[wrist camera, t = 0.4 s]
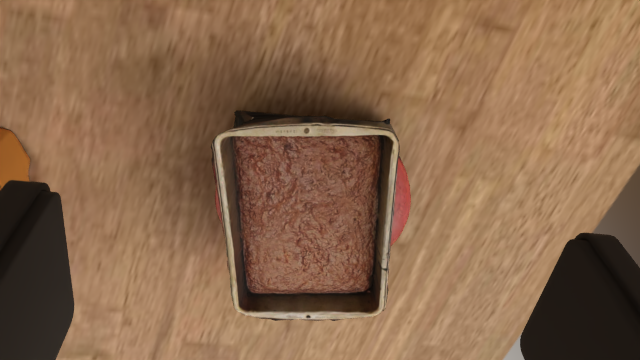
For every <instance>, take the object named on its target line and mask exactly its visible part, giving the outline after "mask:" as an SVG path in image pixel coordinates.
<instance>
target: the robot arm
mask: <svg viewBox="0 0 640 360" xmlns="http://www.w3.org/2000/svg"><path fill="white" fill-rule="evenodd" d="M73 313H74V298H73V290H72V283H71V275H70V267H69V259H68V251H67V243H66V235H65V228H64V220H63V212H62V204H61V198H60V195H59V193H57V192H50V188H49V186H48V184H46V183H40V182H29V181H19V180H10V181H8V182H7V183H6V184H5V185H4V186H3V188H2V189H1V190H0V360H55V359H56V357H57V355H58V352H59V350H60V348H61V346H62V343H63V341H64V339H65V336H66V334H67V332H68V329H69V327H70V324H71V322H72V318H73ZM520 347H521V352H522V354H523V357H524V359H525V360H640V268H639V267H638V265H637V264H636V263H635V261H634V260H633V259H632V257H631V256H630V255H629V254H628V252H627V251H626V250H625V248H624V247H623V246H622V244H621V243H620V242H619V240H618V239H616V238H615V237H614V236H611V235H604V234H603V235H602V234H593V233H580V234H579V235H577V236H576V238H575V239H572V240H570V241H568V242H567V244H566V245H565V247H564V249H563V252H562V254H561V256H560V258H559V260H558V262H557V264H556V266H555V268H554V270H553V272H552V274H551V276H550V278H549V280H548V282H547V284H546V286H545V288H544V290H543V292H542V294H541V296H540V298H539V300H538V302H537V304H536V306H535V308H534V310H533V312H532V314H531V316H530V318H529V320H528V322H527V324H526V326H525V328H524V330H523V332H522V335H521V339H520Z"/></svg>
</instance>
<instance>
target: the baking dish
mask: <svg viewBox="0 0 640 360" xmlns="http://www.w3.org/2000/svg"><path fill="white" fill-rule="evenodd" d="M234 113H235V116H236V118H235V123H234V127H233V128H232V129H230V130H227V131H225V132H223V133H221V134H219V135H217V136H216V137H215V139H214V140H213V143H212V145H211V149H212V166H213V172H214V178H215V183H216V193H215V204H216V209H217V213H218V216H219V219H220V221H221V224H222V227H223V232H224V236H225V243H226V253H227V257H228V259H227V266H228V270H229V274H230V288H231V296H232V301H233V305H234V308H235V309H236V310H237V311H238V312H240V313H242V314H243V315H245V316H247V315H248V316H252V317H256V318H261V319H272V320H275V321H276V320H296V319H300V320H316V321H319V320H332V321H336V320H341V319H352V318H363V317H372V316H375V315H378V314H380V313H381V312H382V311H384V309H385V306H386V302H387V295H388V283H387V282H388V273H389V259H390V247H391V246H392V245H393V243H394V242H395V241H396V240H397V239H398V237H399V236H400V234H401V233H402V231H403V228H404V226H405V224H406V222H407V219H408V216H409V212H410V203H411V194H410V185H409V181H408V176H407V173H406V170H405V167H404V165H403V163H402V161H401V159H400V156H399V140H398V138H397V136H396V134H395V132H394V130H393V128H392V126H391V124H390V119H387V120H384V121H382V122H381V121H364V120H348V119H333V118H330V117H327V116H294V115H282V114H271V113H259V112H247V111H236V112H234Z"/></svg>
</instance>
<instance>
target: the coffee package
mask: <svg viewBox="0 0 640 360" xmlns="http://www.w3.org/2000/svg"><path fill="white" fill-rule="evenodd" d="M29 164H30V159H29V157H28V155H27V153H26V152H25V151H24V149H23V148H22V146H21V144H20V142H19V141H18V139H17V138H16V136H15V135H14V134H13V132H11V131H10V130H6V129H2V128H0V190H1V189H2V188H3V186H4V185H5V184H6V183H7V182H8V181H10V180H19V181H29V177H28V169H29ZM29 182H30V181H29Z"/></svg>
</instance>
